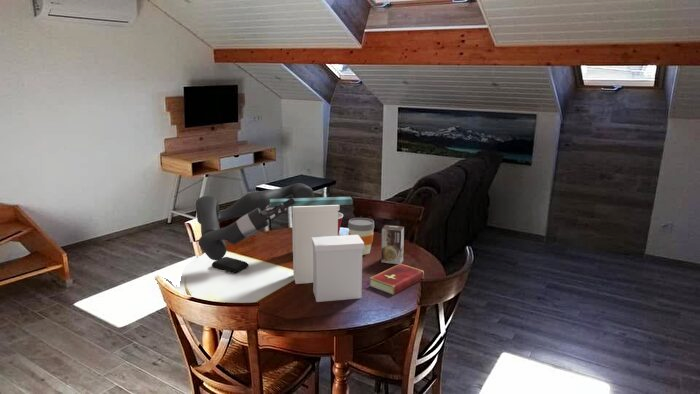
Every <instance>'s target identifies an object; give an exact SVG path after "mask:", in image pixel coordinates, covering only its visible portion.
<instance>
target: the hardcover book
mask: <svg viewBox="0 0 700 394" xmlns="http://www.w3.org/2000/svg"><path fill="white" fill-rule="evenodd" d="M424 277H425V272H424V270H422V269H419V268H416V267H412V266H409V265H407V264H403V263H401V264H395V265H394V266H392V267H390V268H387V269H385V270H384V271H382V272H379V273H377V274H375V275H373V276H370V277H369V280H370V287H372V288H375V289H377V290H380V291H382V292H385V293H387V294H391V295H392V296H394V295H396V294H398V293H400V292H401V291H403V290H406V289H407V288H409V287H411V286H412V285H415V284H417V283H418V282H420V281H422V280H423V279H424ZM421 279H422V280H421Z"/></svg>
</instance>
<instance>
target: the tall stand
mask: <svg viewBox="0 0 700 394" xmlns="http://www.w3.org/2000/svg"><path fill="white" fill-rule="evenodd" d="M340 207H341V205H321V206H291V209H292V213H293V242H292V256H293V257H292V259H293V262H292V264H293V266H292V267H293V268H292V269H293V270H292V271H293V274H292V275H293V279H294V283H295V285H299V284H312V283H313V245H312V237H324V236H338V212H339V211H340Z"/></svg>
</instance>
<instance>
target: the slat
mask: <svg viewBox="0 0 700 394" xmlns="http://www.w3.org/2000/svg"><path fill="white" fill-rule="evenodd" d="M289 199H290V198H289ZM289 199H270V207H274V206H275V205H280V204H281V203H283V204H284V202H285V201H287V200H289ZM293 199H294V201H295V204H293V205H291V206H321V205H340V206H344V205H348V206H349V205H353V201H354V200H353V198H352V197H351V196H336V197H335V196H331V197H330V196H328V197H322V196H321V197H314V198H293ZM291 206H290V207H291ZM291 208H292V207H291Z"/></svg>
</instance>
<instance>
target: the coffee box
mask: <svg viewBox="0 0 700 394" xmlns="http://www.w3.org/2000/svg"><path fill="white" fill-rule="evenodd" d="M404 242H405V226H401V225H391V224H385V225H384V226H383V227H382V228H381V250H380V251H381V254H380V255H381V258H380V259H381V261H380V262H381V263H384V264H385V263H386V264H391V265H392V264H394V265H398V264H403V262H404Z"/></svg>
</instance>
